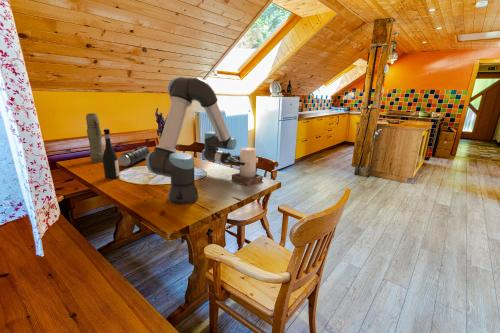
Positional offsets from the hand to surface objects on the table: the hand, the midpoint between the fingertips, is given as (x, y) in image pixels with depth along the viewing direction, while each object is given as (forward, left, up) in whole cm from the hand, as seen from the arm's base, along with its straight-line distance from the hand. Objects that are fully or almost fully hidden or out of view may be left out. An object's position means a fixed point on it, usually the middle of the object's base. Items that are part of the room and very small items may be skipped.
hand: (254, 162), depth 156 cm
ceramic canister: (-1, +4, -10) cm, 11 cm away
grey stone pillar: (-62, +104, -13) cm, 122 cm away
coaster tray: (-2, +4, -13) cm, 13 cm away
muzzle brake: (-42, +84, -13) cm, 95 cm away
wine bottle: (-65, +59, -13) cm, 88 cm away
